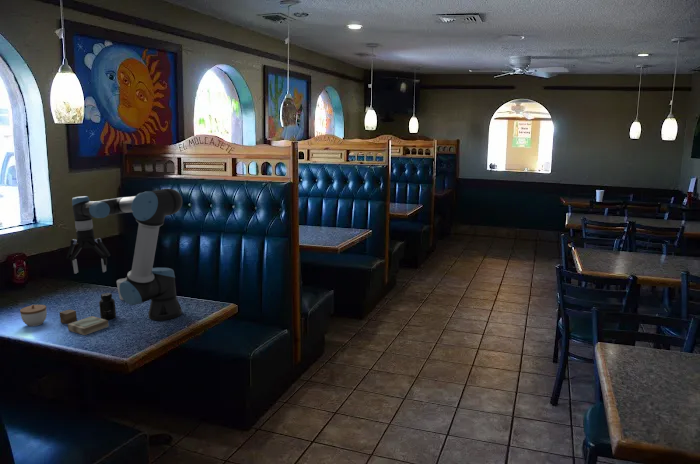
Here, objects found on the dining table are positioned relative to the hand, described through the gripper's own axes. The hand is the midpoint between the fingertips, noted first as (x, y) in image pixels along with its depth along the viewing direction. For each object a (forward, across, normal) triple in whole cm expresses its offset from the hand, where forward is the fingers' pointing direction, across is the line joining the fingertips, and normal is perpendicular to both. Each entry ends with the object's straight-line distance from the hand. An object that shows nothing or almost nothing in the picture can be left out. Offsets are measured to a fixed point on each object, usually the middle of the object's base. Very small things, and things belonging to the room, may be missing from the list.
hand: (90, 272), depth 270 cm
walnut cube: (+21, +8, +10) cm, 25 cm away
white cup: (+21, -6, -23) cm, 32 cm away
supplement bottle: (+21, -9, +8) cm, 24 cm away
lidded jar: (+21, +23, +12) cm, 33 cm away
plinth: (+21, -5, +20) cm, 30 cm away
